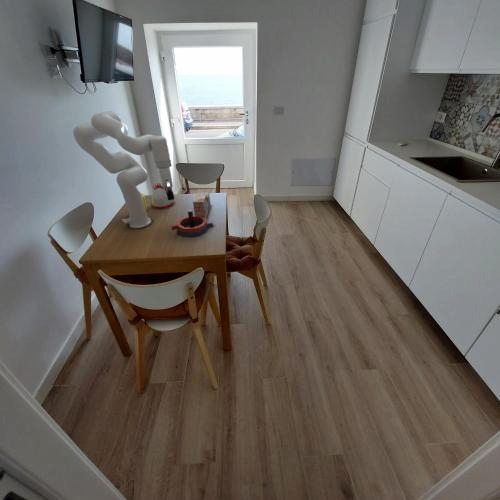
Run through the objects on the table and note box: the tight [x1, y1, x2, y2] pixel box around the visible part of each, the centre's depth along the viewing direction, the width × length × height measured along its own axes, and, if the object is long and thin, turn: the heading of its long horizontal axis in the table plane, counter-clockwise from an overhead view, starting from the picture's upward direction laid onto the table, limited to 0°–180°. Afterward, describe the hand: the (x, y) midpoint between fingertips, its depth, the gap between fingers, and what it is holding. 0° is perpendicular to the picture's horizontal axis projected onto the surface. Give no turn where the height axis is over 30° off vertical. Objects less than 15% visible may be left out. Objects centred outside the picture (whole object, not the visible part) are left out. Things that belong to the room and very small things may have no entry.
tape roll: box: [141, 193, 149, 212], centre depth 175 cm, size 10×10×9 cm
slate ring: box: [177, 220, 214, 238], centre depth 154 cm, size 19×16×2 cm
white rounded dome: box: [151, 182, 174, 210], centre depth 179 cm, size 14×14×15 cm
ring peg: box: [185, 209, 200, 228], centre depth 151 cm, size 8×8×12 cm
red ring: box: [170, 214, 208, 233], centre depth 152 cm, size 19×16×2 cm
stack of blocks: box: [192, 191, 211, 220], centre depth 168 cm, size 21×6×12 cm, turn 179°
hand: (170, 196), depth 142 cm, fingers open, 9 cm apart
